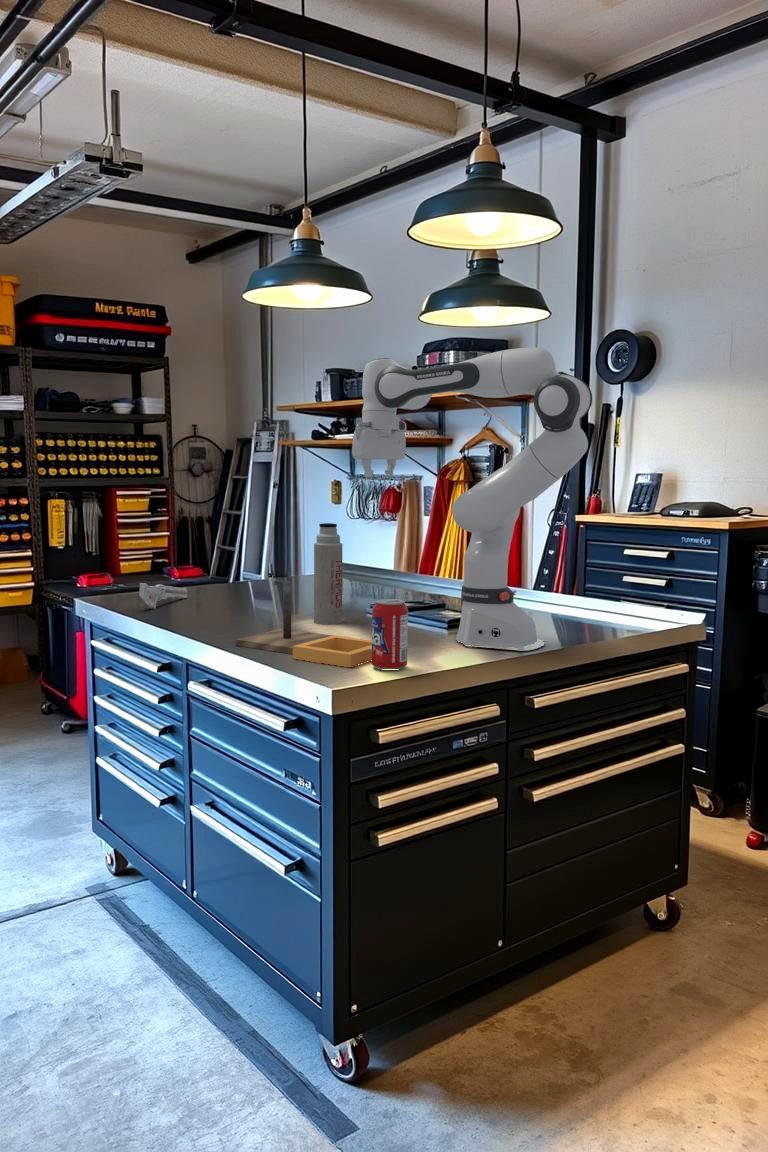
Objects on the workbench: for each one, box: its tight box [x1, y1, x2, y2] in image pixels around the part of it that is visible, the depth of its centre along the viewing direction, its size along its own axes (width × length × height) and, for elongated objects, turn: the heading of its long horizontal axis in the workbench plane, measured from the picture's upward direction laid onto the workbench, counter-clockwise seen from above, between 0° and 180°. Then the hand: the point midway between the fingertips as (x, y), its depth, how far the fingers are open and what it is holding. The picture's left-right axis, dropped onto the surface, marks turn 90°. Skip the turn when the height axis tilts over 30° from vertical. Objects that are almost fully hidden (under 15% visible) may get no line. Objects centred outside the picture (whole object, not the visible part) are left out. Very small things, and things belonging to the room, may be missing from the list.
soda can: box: [371, 598, 409, 670], centre depth 194 cm, size 8×8×15 cm
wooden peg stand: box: [235, 580, 333, 655], centre depth 220 cm, size 18×18×16 cm
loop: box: [292, 635, 372, 668], centre depth 206 cm, size 16×16×3 cm
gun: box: [138, 582, 188, 610], centre depth 279 cm, size 2×30×8 cm, turn 167°
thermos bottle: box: [313, 522, 343, 625], centre depth 250 cm, size 8×8×28 cm
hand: (379, 477), depth 231 cm, fingers open, 8 cm apart
